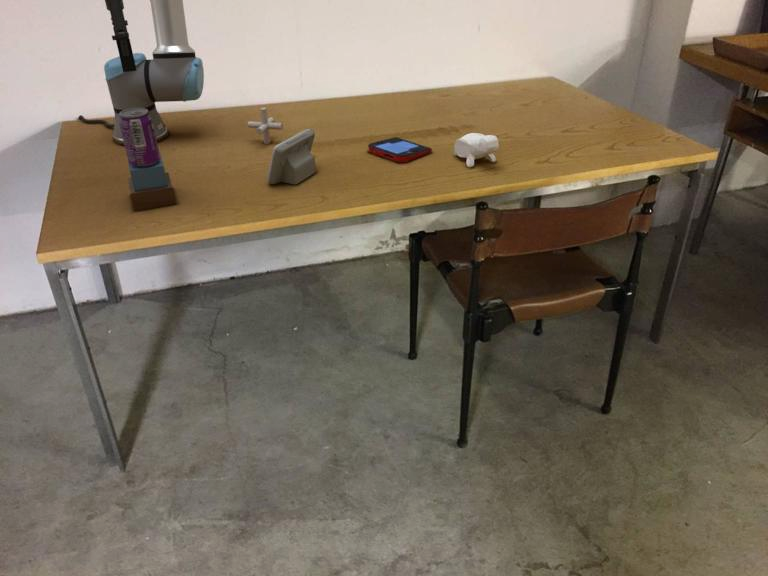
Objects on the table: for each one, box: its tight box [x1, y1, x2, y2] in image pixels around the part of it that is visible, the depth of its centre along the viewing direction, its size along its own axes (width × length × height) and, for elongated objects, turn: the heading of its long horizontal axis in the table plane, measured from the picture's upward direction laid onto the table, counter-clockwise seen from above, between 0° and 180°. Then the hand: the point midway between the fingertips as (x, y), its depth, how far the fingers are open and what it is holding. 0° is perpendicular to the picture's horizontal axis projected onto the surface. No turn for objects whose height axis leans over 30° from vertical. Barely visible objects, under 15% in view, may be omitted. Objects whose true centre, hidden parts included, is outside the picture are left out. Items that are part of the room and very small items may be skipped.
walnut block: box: [127, 171, 177, 212], centre depth 152 cm, size 10×10×4 cm
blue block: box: [127, 154, 168, 191], centre depth 150 cm, size 8×8×5 cm
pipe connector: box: [247, 107, 284, 145], centre depth 183 cm, size 10×10×10 cm
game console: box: [367, 136, 433, 163], centre depth 177 cm, size 14×13×2 cm
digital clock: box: [266, 128, 317, 186], centre depth 161 cm, size 16×9×11 cm, turn 140°
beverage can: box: [119, 108, 161, 167], centre depth 145 cm, size 7×7×12 cm
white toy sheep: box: [453, 132, 500, 168], centre depth 169 cm, size 9×8×15 cm
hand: (128, 64), depth 141 cm, fingers open, 13 cm apart
